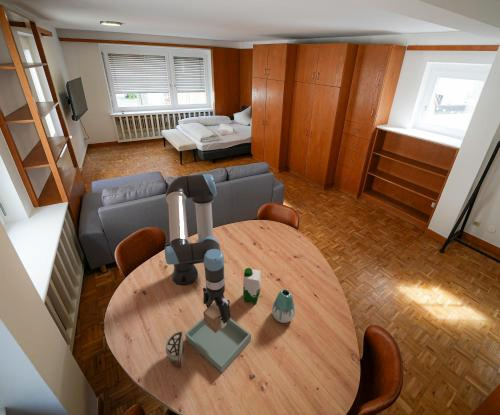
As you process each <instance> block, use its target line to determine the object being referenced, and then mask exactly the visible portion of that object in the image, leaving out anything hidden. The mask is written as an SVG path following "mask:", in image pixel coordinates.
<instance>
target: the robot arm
mask: <svg viewBox="0 0 500 415" xmlns="http://www.w3.org/2000/svg"><path fill="white" fill-rule="evenodd" d="M217 193H218V192H217V187H216V183H215V180H214V177H213V175H212V174H210V173H207V174H205V173H203V174H189V175H181V176H178V177H176V178H175V179H173V180H172V182H170V184H169V186H168V187H167V190H166V193H165V201H166V203H167V204H168V205H167V206H168V225H169V228H168V229H169V245H168V246H165V247H164V256H165V257H164V259H165V263H166V264H167V265H168V266H169V265H171V266H172V265H173V272H172V274H171V276H172V281H173V283H175V285H178V286H182V287H183V286H188V285H191V284H193V283H195V281H197V280H198V277H199V271H198V269H197V267H196V265H197V264H203V267H204V276H205V286H204V287H203V288H202V291H203V294H202V295H203V297H202V298H203V299H202V300H203V302H202V303H203V305H206V306H205V307H207V308H209V307H210V306H211V305H212V304H213V303H214V302H215V303H216V305H217V306H218V308H219V311H220V314H221V318H220V320H221V328H223V327H224V326H225V325H226V322H227V320H228V319H229V318H230V319H231V317H232V316H231V315H232V314H231V308H230V303H231V302H230V300H229V299H226V298H225V295H224V294H225V290H226V288H225V286H226V285H225V280H226V278H225V257H224V253H223V252H222V251H221V245H220V243H219V240H218V238H216V237H215V236H214V228H213V226H214V224H213V210H212V209H213V208H212V207H213V206H212V202H214V201H215V197H216V196H217V195H218V194H217ZM187 199H191V202H192V203H194V207H195V217H196V218H195V220H196V228H197V239H196V241H195V242H191V241H190V240H189V233H188V225H187V224H188V223H187V222H188V221H187V213H186V204H185V203H186V202H187ZM207 308H206V309H207Z"/></svg>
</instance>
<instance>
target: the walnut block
mask: <svg viewBox="0 0 500 415" xmlns="http://www.w3.org/2000/svg"><path fill="white" fill-rule="evenodd" d="M203 317H204V324H205V325H206V326H207V327H209V328H210V329H211V330H212V331H213V332H215V333H216V332H217V331H219V330H220V329H221V320H220V318H221V314H220V311H219V308H218V306H217V305H216V303H215V301H213V303H212V304H211V306H210V307H209V308H206V309H205V310H204V311H203ZM230 319H231V317H230V318H229V319H228V320H227V322H228V321H229V320H230ZM227 322H226V323H227Z"/></svg>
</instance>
